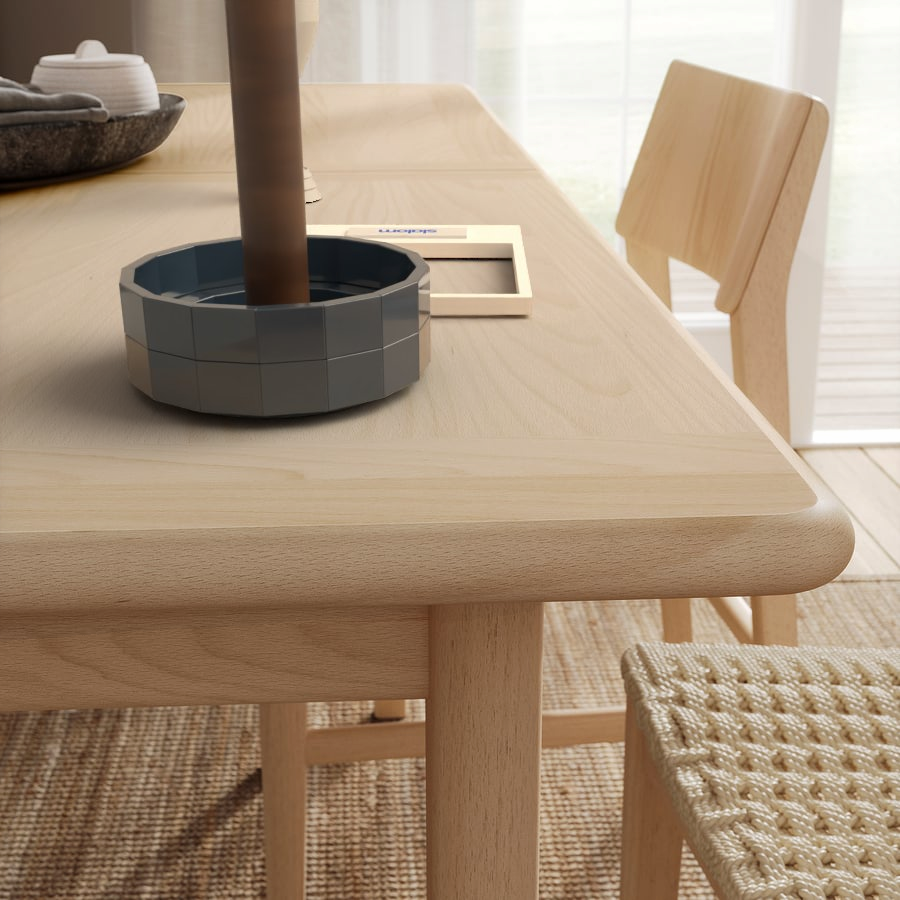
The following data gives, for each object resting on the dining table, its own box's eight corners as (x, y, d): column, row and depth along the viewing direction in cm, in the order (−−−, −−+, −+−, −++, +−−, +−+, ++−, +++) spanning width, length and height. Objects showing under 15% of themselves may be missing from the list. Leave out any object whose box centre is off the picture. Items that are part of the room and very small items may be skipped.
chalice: (245, 191, 95) (228, -51, 88) (329, 188, 96) (319, -51, 89) (247, 209, 88) (229, -51, 81) (337, 205, 89) (327, -51, 82)
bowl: (68, 391, 51) (52, 279, 49) (267, 318, 61) (260, 223, 59) (303, 454, 45) (296, 327, 43) (482, 361, 55) (483, 255, 53)
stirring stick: (237, 366, 52) (207, -19, 46) (278, 350, 54) (255, -20, 48) (285, 377, 51) (262, -19, 45) (325, 360, 53) (308, -20, 47)
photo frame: (519, 222, 78) (532, 293, 61) (519, 239, 78) (531, 314, 61) (299, 221, 78) (252, 292, 61) (300, 238, 78) (254, 313, 62)
